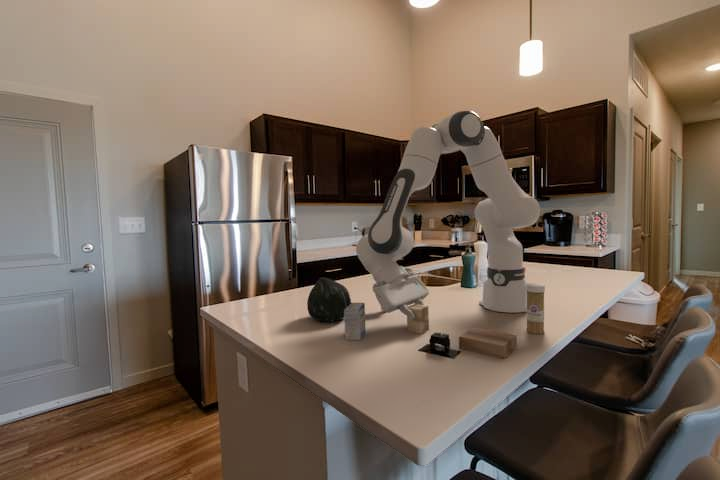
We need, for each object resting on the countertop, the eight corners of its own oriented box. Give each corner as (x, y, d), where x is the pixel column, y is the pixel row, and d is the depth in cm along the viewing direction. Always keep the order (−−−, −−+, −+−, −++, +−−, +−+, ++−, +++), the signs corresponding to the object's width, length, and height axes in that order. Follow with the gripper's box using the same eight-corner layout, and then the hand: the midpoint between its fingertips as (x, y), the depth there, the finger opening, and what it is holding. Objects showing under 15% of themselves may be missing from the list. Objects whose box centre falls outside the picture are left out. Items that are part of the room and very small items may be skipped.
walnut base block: (474, 337, 94) (474, 326, 94) (516, 346, 87) (516, 335, 87) (459, 348, 87) (459, 336, 87) (503, 358, 80) (503, 346, 80)
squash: (360, 297, 123) (331, 266, 122) (356, 310, 108) (323, 275, 107) (332, 322, 125) (303, 292, 124) (324, 339, 110) (291, 305, 110)
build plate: (469, 353, 85) (469, 335, 85) (458, 364, 79) (458, 344, 79) (423, 343, 93) (423, 327, 92) (410, 352, 87) (410, 334, 87)
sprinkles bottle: (526, 333, 96) (526, 285, 95) (526, 328, 100) (526, 282, 99) (545, 335, 94) (545, 286, 93) (543, 329, 98) (544, 282, 97)
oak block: (415, 326, 105) (415, 303, 104) (428, 329, 102) (428, 306, 101) (407, 330, 102) (406, 307, 101) (420, 333, 99) (420, 309, 98)
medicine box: (360, 340, 95) (359, 309, 94) (344, 340, 96) (343, 309, 95) (365, 331, 103) (364, 302, 102) (351, 330, 104) (350, 302, 103)
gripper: (375, 278, 97) (405, 318, 92) (415, 268, 113) (443, 301, 107) (364, 291, 101) (392, 331, 95) (404, 280, 116) (430, 313, 110)
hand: (419, 315), depth 101 cm, fingers closed on oak block, 4 cm apart
